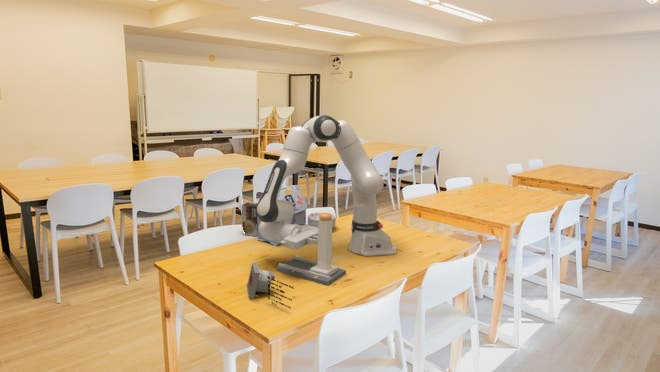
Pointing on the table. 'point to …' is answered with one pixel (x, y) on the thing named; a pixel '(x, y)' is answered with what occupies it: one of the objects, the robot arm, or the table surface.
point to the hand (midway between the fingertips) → (320, 241)
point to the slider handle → (324, 246)
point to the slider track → (308, 271)
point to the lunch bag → (298, 203)
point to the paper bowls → (314, 219)
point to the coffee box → (250, 219)
